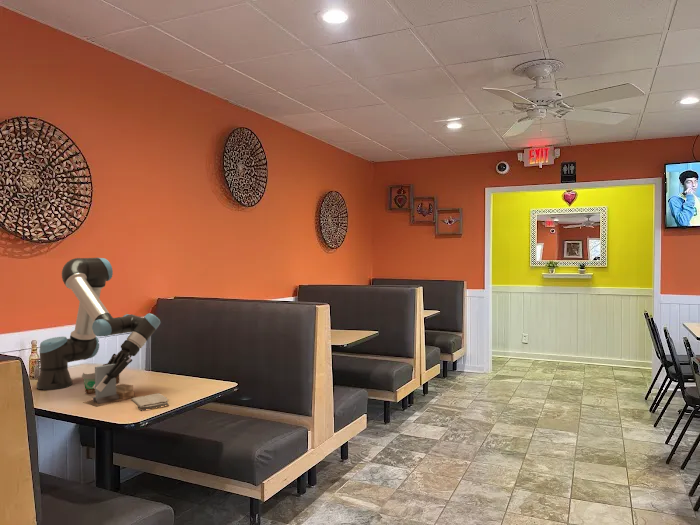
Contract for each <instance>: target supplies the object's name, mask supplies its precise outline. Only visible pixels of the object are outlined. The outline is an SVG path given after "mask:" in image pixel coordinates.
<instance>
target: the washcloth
mask: <svg viewBox="0 0 700 525" xmlns="http://www.w3.org/2000/svg"><path fill="white" fill-rule="evenodd" d="M130 400H131V402H133V403H134V404H136V405H137V408H138V410H140V411H141V410H143V411H147V410H146V409H151V410H153V409H152V408H156V407H161V406H165V405H169V403H168V402H169V399H168V398H167V396H164V395H163V394H161V393H153V394H148V395H141V396H136V397H135V398H132V399H130ZM169 406H170V405H169ZM156 409H157V408H156Z"/></svg>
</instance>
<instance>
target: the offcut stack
mask: <svg viewBox="0 0 700 525" xmlns="http://www.w3.org/2000/svg"><path fill="white" fill-rule="evenodd" d="M116 394H119V398H121V399H126V398H131V397H134V396H135V391H134V385H132V384H126V383H120V384H116Z"/></svg>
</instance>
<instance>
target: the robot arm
mask: <svg viewBox="0 0 700 525" xmlns="http://www.w3.org/2000/svg"><path fill="white" fill-rule="evenodd" d="M61 270H62V271H61V279H62V282H63V283H64V285H65V287H66V288H67V289H69V290H71V291H72V293H73V294H74V296H75V297H76V299H77V300H78V301H79V304H78V309H77V315H76V320H75V326H74V327H75V328H74V330H72V331H71V332H70V336H69V338H67V336H55V337H50V338H46V339H44V340H42V341H41V342H40V344H39V351H38V352H39V367H40V369H39V370H40V372H39V375H38V378H37V382H36V389H37V388H38V389H37V390H39V389H43V390H42V391H48V390H57V389H58V390H59V389H65V388H68V387H70V386H72V385H73V379H72V378H71V374H70V371H69V367H68V366H69V365H68V363H72V362H77V361H82V360H84V361H85V360H88V359H92V358H94V357H95V356H96V355H97V354H98V352H99V350H100V341H99V338H98V337H109V336H114V335H120V334H128V333H130V334H128V336H127V338H126V340H124V341H123V342H122V343H121V345H120V348H121V350H120V351H119V352H118V353H117V354H116V353H113V354H112V356H111V358H110V359H109V360H108V362H107V363H106V364H107V365H109V364H115V366H114V367H113V368H112V370H111V371H110V372H109V373H107V375H108V376H107V375H106V376H105V377H104V378H103V379H102V381H101V382H100V383H99V384H98V386H97V387H96V389H97V390H98V391H100V392H101V391H102V390H103V389H104V388H105V386H106V385H107V384H108V383H109V381H110V380H111V379H113V378H116V377H117V376H118V375H119V376H120V375H121V373H122V372H123V370H125V368H127V366H128V365H130V364H131V363H132V362H133V359H132V358H131V357H135V356H136V355H137V354H138V353H139V352H140V349H142V348H143V347H144V346H145V344H146V343H147V341H148V340H149V339H150V338H151V337H152V335H153V334H154V333H155V331H156V330H157V329H158V328H159V326H160V325H161V320H160V318H159V317H157V315H155V314H153V313H150V312H149V313H146V315H144V317H143V316H138V315H135V314H124V315H122V316H119V317H113V316H112V315H111V313H110V312H109V310H108V309H107V307H106V306H105V304H104V303H103V302H102V300H101V299H100V298H101V297H100V296H101V292H102V289H103V288H105V286H106V284H107V282H109V281H110V280H111V279H112V277H113V275H114V273H113V266H112V264H111V262H110V261H109V260H108V259H107V258H104V257H76V258H72V259H70V260H68V261H67V262H66V263H65V264H64V265H63V266H62V269H61ZM67 386H68V387H67ZM93 388H94V389H95V385H94V386H93Z"/></svg>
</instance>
